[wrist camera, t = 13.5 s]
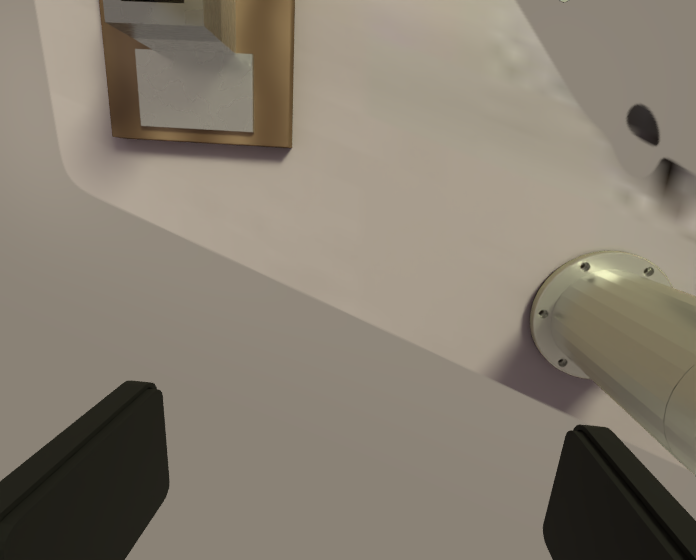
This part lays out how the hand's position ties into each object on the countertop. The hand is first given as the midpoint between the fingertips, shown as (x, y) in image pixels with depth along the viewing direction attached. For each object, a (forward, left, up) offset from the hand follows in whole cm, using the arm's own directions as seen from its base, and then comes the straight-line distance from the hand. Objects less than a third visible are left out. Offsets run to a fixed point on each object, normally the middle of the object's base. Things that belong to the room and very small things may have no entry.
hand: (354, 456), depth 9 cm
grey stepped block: (+16, -19, -27) cm, 37 cm away
